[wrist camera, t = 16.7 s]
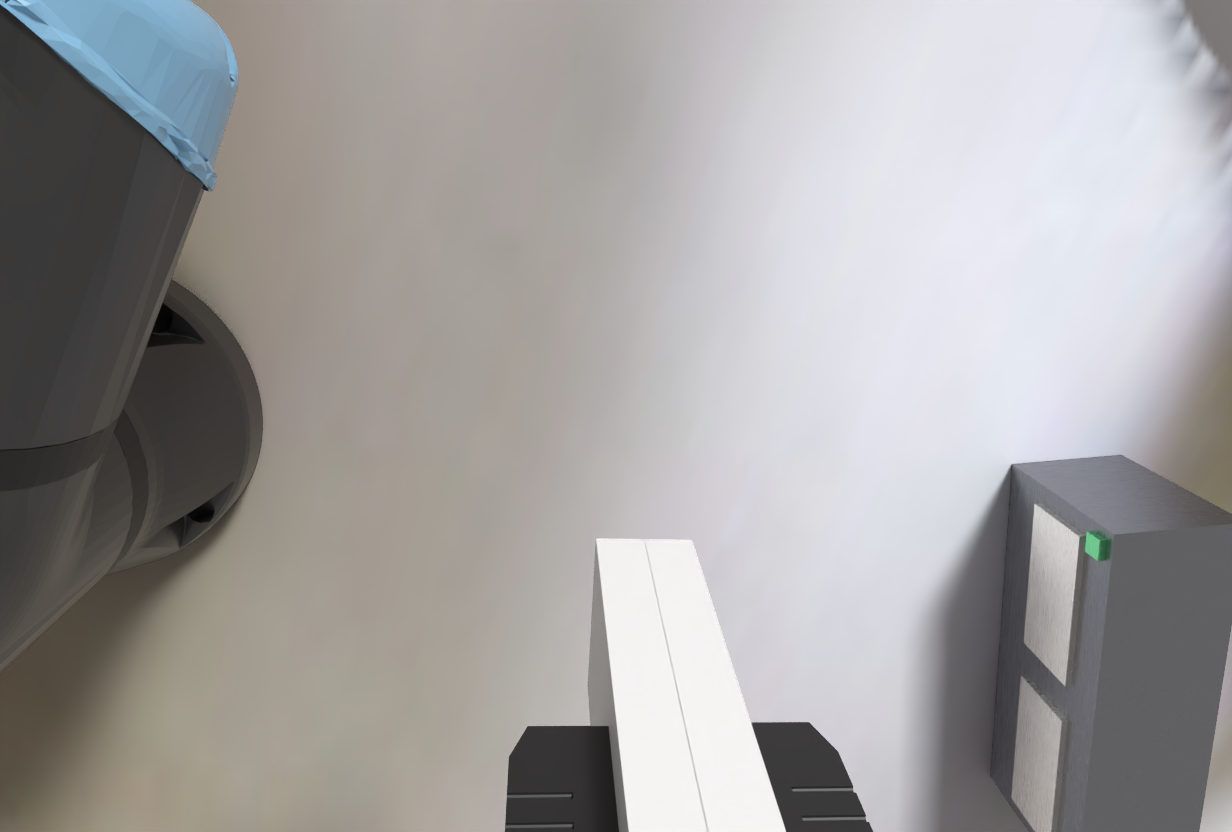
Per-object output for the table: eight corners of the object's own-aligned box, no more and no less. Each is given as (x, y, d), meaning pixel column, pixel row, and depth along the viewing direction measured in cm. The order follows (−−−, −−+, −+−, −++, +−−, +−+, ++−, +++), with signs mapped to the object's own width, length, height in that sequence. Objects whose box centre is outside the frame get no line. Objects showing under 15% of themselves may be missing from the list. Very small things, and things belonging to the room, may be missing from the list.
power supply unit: (985, 776, 52) (1069, 898, 44) (1006, 464, 47) (1107, 535, 38) (1087, 766, 53) (1190, 886, 44) (1121, 455, 47) (1247, 522, 38)
